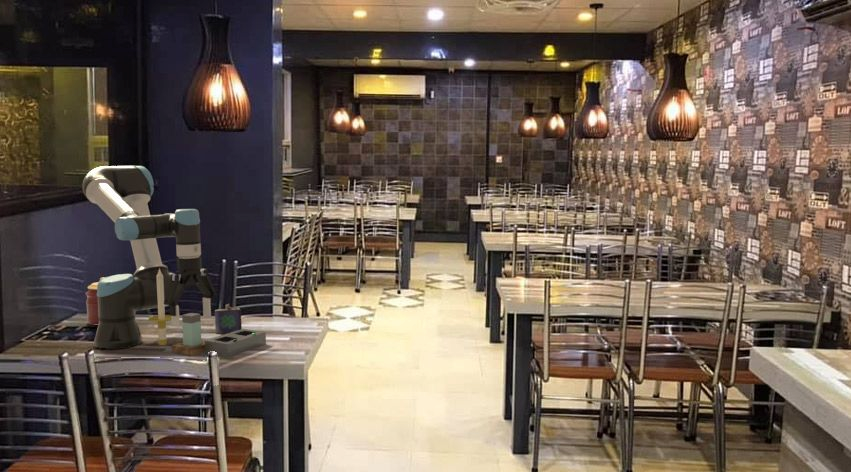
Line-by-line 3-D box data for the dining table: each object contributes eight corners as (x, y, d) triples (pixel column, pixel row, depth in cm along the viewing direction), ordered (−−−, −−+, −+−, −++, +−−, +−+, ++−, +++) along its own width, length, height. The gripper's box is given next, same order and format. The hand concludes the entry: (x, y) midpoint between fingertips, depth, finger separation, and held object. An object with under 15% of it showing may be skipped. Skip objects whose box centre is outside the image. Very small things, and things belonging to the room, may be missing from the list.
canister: (86, 327, 278) (83, 281, 276) (88, 320, 290) (85, 275, 288) (123, 324, 282) (121, 278, 280) (123, 317, 294) (121, 273, 292)
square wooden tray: (172, 354, 241) (171, 345, 241) (193, 347, 249) (192, 339, 249) (192, 357, 237) (191, 348, 237) (212, 351, 245) (212, 342, 245)
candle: (155, 342, 257) (152, 265, 253) (183, 342, 256) (180, 265, 252) (141, 349, 247) (137, 270, 244) (170, 350, 246) (167, 270, 243)
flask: (215, 335, 266) (214, 305, 265) (215, 333, 269) (214, 304, 268) (241, 333, 269) (241, 304, 267) (241, 331, 271) (240, 302, 270)
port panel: (205, 355, 240) (204, 339, 239) (243, 342, 256) (243, 327, 255) (228, 359, 235) (227, 343, 234) (266, 346, 251) (265, 330, 250)
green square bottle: (183, 351, 242) (182, 315, 241) (192, 348, 246) (191, 312, 244) (192, 352, 240) (191, 316, 239) (201, 349, 244) (200, 313, 242)
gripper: (166, 262, 227) (170, 330, 229) (225, 252, 248) (227, 315, 251) (149, 261, 230) (153, 328, 233) (208, 251, 252) (211, 312, 254)
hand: (191, 321), depth 242 cm, fingers open, 13 cm apart
